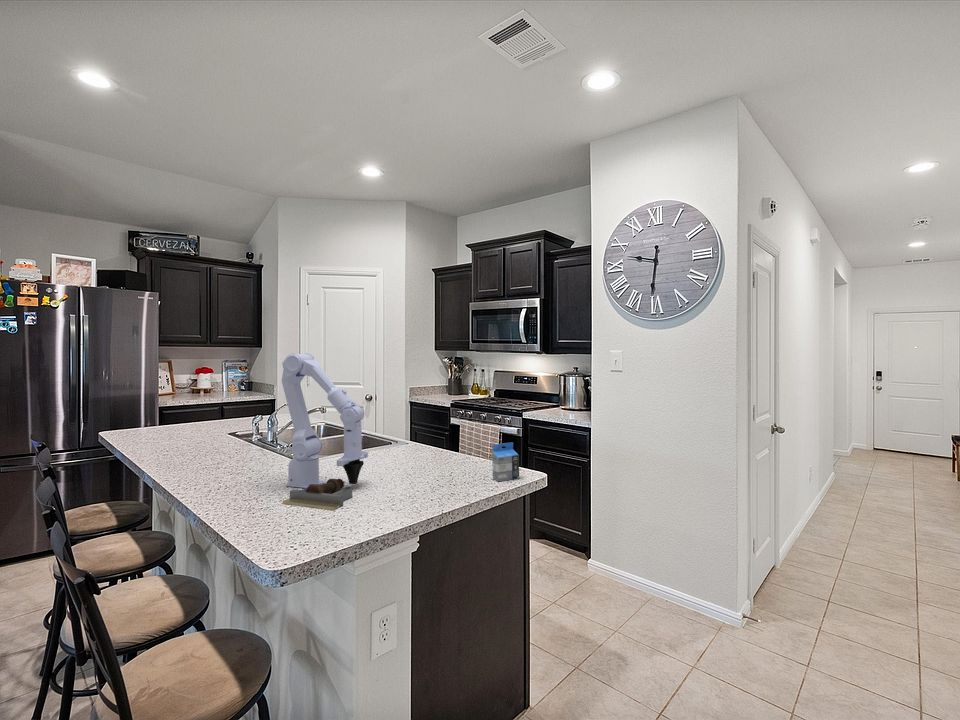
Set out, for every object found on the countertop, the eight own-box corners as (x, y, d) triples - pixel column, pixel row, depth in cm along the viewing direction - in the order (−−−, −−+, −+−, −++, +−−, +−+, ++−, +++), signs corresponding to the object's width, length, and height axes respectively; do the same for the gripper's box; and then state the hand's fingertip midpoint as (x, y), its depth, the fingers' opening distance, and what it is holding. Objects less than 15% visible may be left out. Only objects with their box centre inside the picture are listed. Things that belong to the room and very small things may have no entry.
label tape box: (498, 482, 171) (498, 446, 171) (492, 479, 175) (491, 444, 175) (519, 478, 176) (519, 443, 176) (513, 476, 179) (512, 442, 179)
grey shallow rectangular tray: (282, 503, 148) (282, 493, 148) (310, 492, 159) (310, 483, 159) (333, 510, 141) (333, 499, 141) (359, 498, 153) (359, 488, 153)
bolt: (342, 494, 164) (314, 506, 149) (331, 486, 165) (302, 497, 151) (350, 479, 163) (323, 490, 149) (339, 471, 164) (310, 480, 150)
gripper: (349, 447, 157) (349, 490, 157) (375, 439, 170) (375, 479, 171) (331, 445, 159) (331, 488, 160) (357, 438, 173) (358, 477, 173)
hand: (353, 483), depth 165 cm, fingers closed
